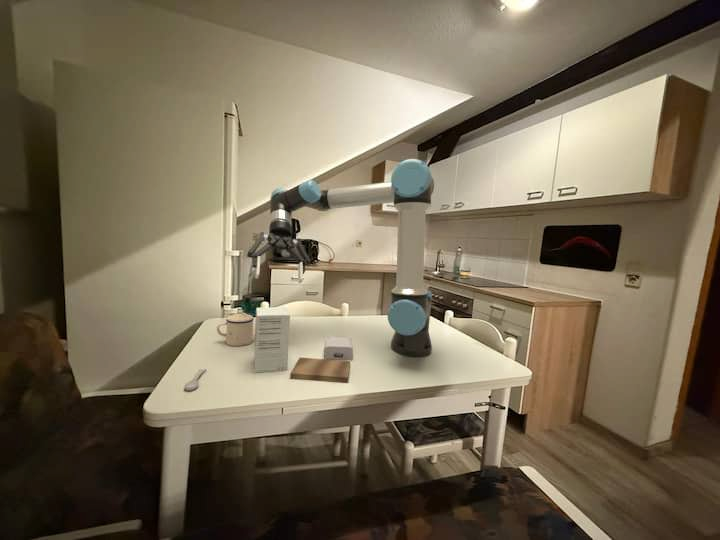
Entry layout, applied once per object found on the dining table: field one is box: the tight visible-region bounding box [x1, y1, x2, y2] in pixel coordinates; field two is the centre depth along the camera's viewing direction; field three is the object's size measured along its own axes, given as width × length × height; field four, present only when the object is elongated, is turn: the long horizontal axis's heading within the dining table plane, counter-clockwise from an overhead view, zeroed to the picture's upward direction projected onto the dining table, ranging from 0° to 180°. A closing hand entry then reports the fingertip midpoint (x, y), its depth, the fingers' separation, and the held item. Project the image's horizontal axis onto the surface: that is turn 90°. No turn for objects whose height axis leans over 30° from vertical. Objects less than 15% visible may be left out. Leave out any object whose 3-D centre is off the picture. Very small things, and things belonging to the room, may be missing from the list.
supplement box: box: [253, 306, 291, 374], centre depth 87 cm, size 10×9×17 cm
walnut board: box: [289, 357, 351, 384], centre depth 86 cm, size 16×11×2 cm
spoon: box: [184, 368, 207, 392], centre depth 76 cm, size 3×12×2 cm, turn 14°
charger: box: [323, 336, 354, 361], centre depth 102 cm, size 5×9×15 cm
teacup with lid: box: [216, 309, 254, 347], centre depth 103 cm, size 12×9×12 cm
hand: (279, 278), depth 92 cm, fingers open, 13 cm apart
